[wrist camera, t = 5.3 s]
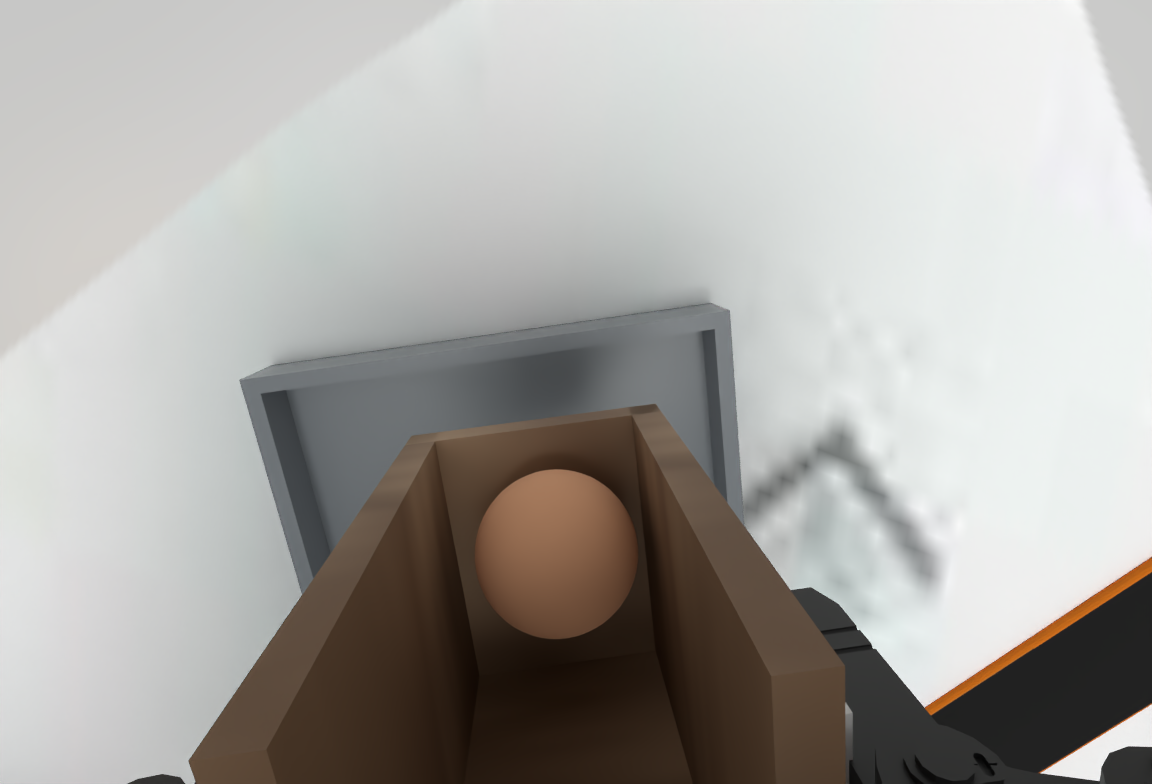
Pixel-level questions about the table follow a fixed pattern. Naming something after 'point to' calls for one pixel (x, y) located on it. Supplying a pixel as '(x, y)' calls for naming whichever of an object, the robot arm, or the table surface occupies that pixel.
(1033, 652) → the smartphone
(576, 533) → the ball
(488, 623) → the brown wooden bin
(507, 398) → the tray
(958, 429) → the table surface
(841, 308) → the table surface
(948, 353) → the table surface
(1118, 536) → the table surface
